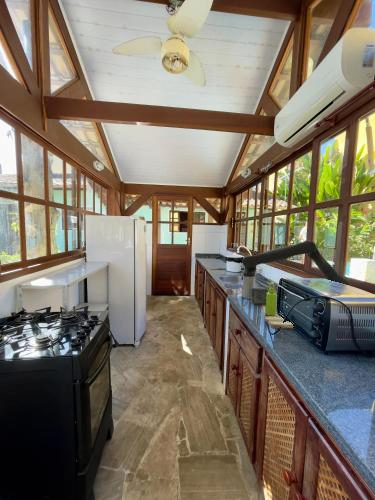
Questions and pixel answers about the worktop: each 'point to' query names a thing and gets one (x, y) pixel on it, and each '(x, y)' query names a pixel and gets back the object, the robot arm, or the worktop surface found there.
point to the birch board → (277, 322)
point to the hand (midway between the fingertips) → (289, 288)
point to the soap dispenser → (271, 301)
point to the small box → (259, 295)
